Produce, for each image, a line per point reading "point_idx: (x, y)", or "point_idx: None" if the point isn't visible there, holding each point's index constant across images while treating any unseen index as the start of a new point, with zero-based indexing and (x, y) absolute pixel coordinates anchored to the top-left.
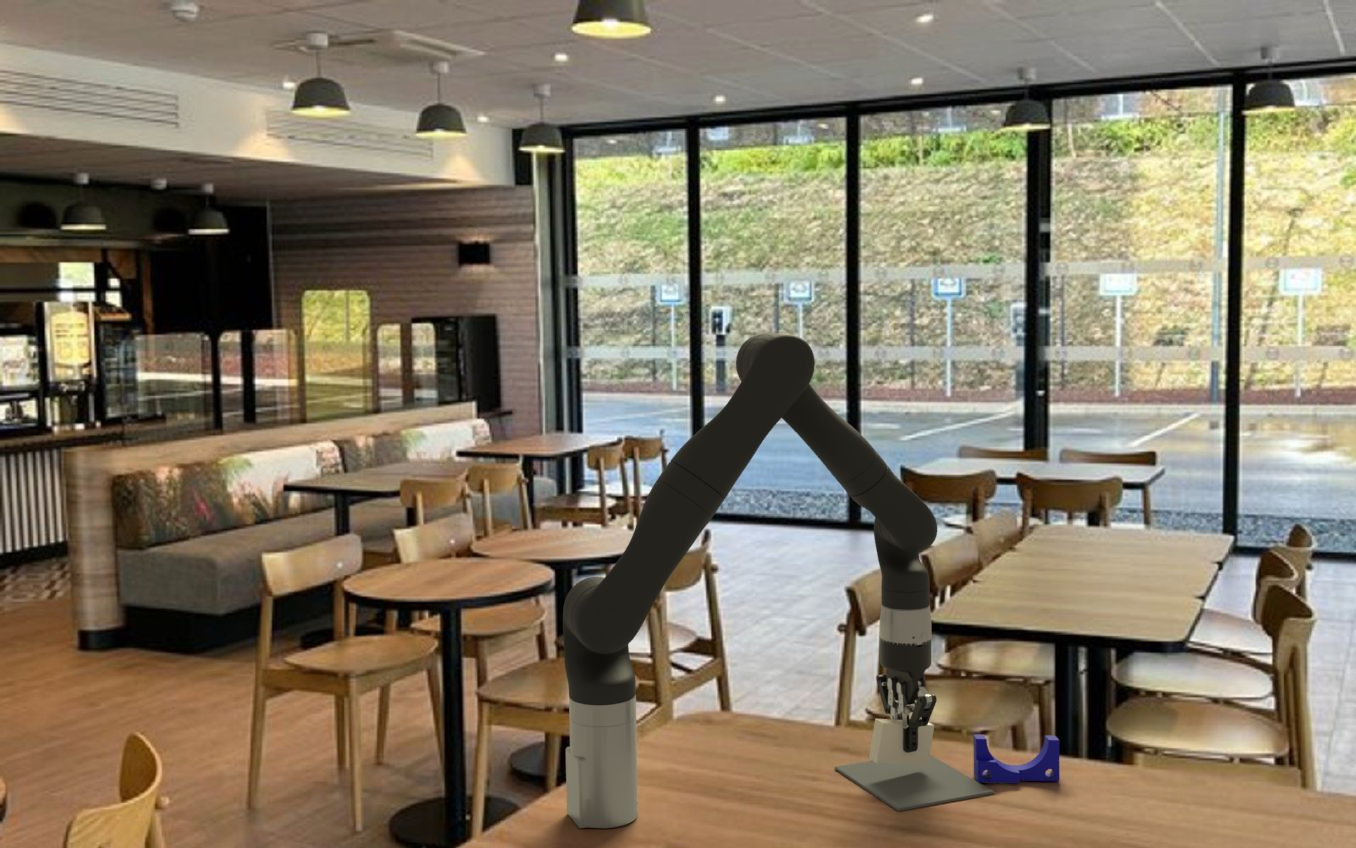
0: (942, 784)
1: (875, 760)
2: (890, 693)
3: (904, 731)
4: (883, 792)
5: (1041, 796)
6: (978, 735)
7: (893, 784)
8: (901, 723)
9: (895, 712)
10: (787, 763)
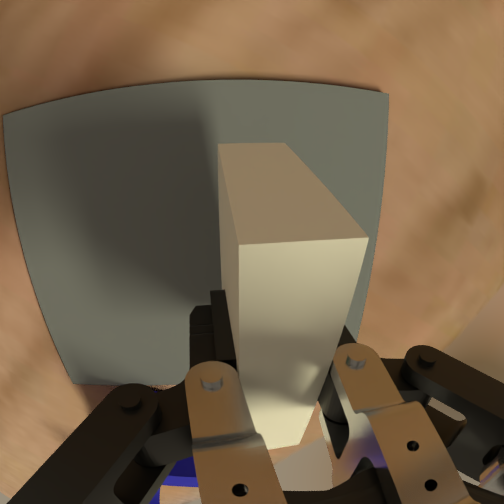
0: (128, 315)
1: (231, 145)
2: (434, 481)
3: (218, 348)
4: (117, 118)
5: (63, 424)
6: (193, 481)
7: (169, 182)
8: (248, 371)
9: (345, 397)
10: (455, 28)
